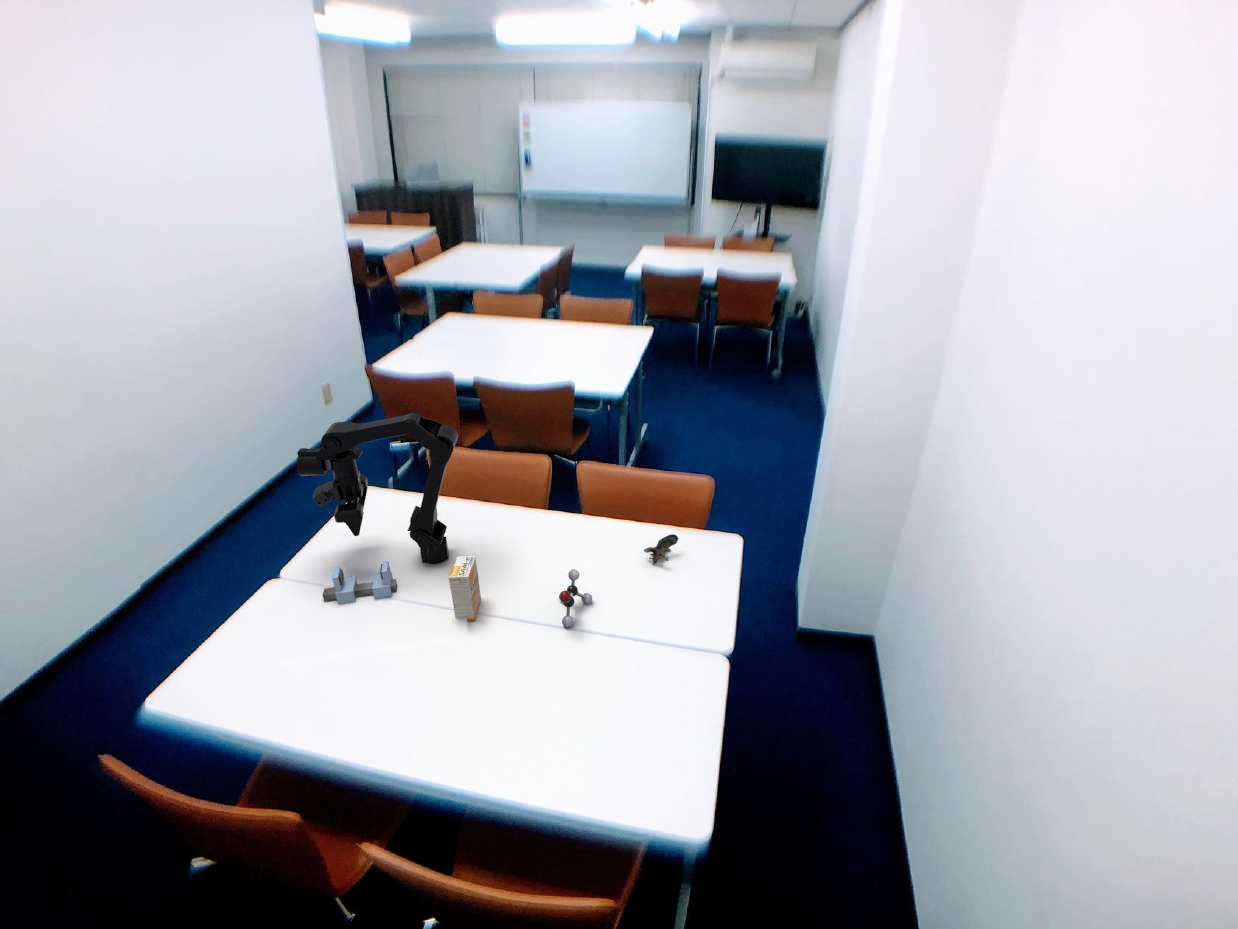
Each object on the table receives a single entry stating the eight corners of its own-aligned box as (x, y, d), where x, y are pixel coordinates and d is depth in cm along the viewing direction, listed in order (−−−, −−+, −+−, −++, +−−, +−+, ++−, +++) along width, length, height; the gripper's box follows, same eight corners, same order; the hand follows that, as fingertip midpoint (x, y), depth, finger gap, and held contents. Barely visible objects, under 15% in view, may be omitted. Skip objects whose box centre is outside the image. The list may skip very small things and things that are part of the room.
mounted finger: (393, 581, 174) (388, 558, 171) (391, 596, 169) (386, 573, 166) (377, 583, 174) (371, 560, 170) (374, 599, 169) (369, 575, 165)
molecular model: (593, 599, 169) (591, 564, 164) (583, 633, 158) (581, 597, 153) (560, 596, 170) (558, 562, 165) (549, 630, 160) (545, 594, 154)
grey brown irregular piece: (673, 567, 178) (685, 543, 184) (658, 547, 175) (670, 524, 182) (651, 572, 182) (663, 549, 189) (636, 553, 180) (648, 530, 186)
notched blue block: (358, 586, 173) (352, 563, 170) (355, 601, 168) (349, 578, 164) (341, 588, 172) (335, 565, 169) (338, 604, 167) (331, 580, 164)
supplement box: (475, 621, 162) (468, 577, 156) (455, 621, 162) (447, 577, 156) (482, 598, 170) (476, 555, 163) (462, 598, 170) (456, 555, 163)
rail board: (400, 579, 177) (398, 569, 175) (398, 601, 169) (396, 592, 168) (327, 589, 174) (324, 579, 172) (321, 612, 166) (318, 602, 165)
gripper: (316, 459, 176) (329, 511, 184) (305, 496, 160) (320, 551, 168) (361, 454, 178) (373, 505, 186) (355, 490, 162) (368, 544, 170)
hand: (358, 525), depth 177 cm, fingers open, 9 cm apart
